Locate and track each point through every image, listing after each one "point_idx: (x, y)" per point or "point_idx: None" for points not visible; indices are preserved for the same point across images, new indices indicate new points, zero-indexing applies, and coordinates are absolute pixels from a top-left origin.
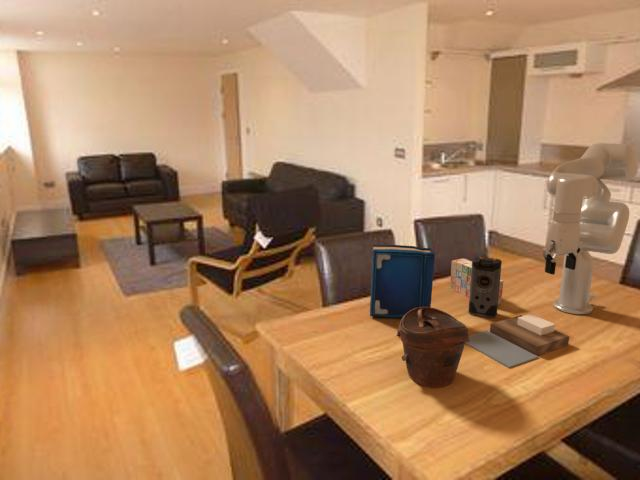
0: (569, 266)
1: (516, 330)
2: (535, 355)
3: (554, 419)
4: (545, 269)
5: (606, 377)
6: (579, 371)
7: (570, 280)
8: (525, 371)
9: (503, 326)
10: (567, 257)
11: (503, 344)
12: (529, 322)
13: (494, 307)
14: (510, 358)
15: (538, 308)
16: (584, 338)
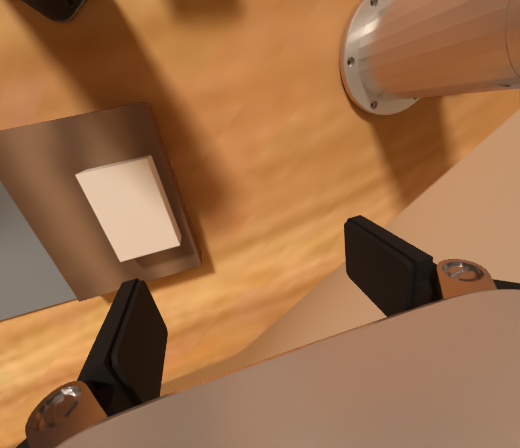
0: (353, 258)
1: (61, 208)
2: None
3: (11, 445)
4: (120, 295)
5: (185, 358)
6: None
7: (443, 45)
8: (24, 336)
9: (22, 171)
10: (401, 270)
11: (11, 228)
12: (100, 220)
13: (33, 4)
14: (2, 294)
15: (291, 8)
16: (263, 232)
